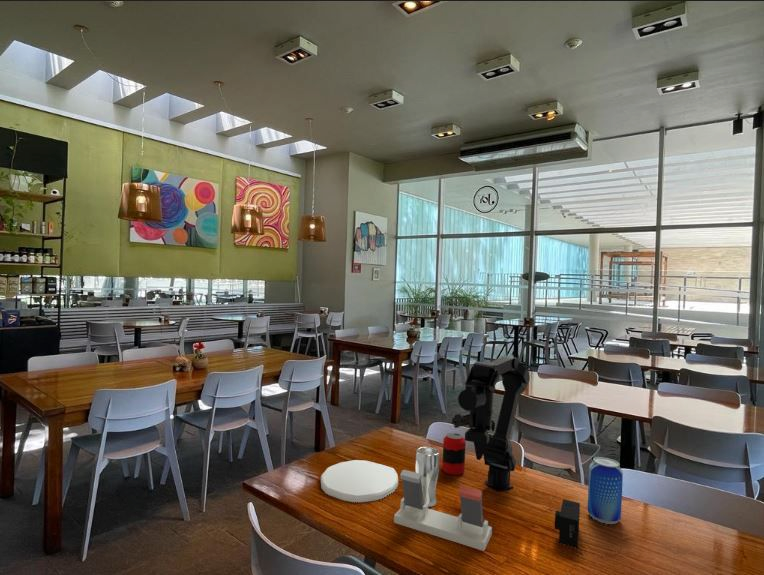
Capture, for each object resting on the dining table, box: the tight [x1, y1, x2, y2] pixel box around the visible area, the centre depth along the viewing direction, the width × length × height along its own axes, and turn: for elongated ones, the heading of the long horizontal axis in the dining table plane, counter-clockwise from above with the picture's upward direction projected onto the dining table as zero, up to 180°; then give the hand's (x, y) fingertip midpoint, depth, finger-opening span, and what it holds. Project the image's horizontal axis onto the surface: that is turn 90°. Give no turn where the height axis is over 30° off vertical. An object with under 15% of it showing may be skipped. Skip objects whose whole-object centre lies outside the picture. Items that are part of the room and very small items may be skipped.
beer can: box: [587, 456, 624, 525], centre depth 121 cm, size 8×8×16 cm
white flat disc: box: [320, 459, 399, 504], centre depth 137 cm, size 25×4×25 cm
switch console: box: [393, 496, 493, 552], centre depth 113 cm, size 8×24×5 cm, turn 63°
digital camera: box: [554, 499, 581, 549], centre depth 112 cm, size 10×5×7 cm, turn 154°
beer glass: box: [414, 446, 440, 508], centre depth 126 cm, size 7×7×15 cm
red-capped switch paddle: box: [458, 485, 484, 527], centre depth 107 cm, size 2×5×11 cm, turn 63°
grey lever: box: [400, 469, 424, 510], centre depth 115 cm, size 2×5×11 cm, turn 63°
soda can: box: [441, 432, 467, 476], centre depth 149 cm, size 8×8×12 cm
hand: (478, 459), depth 127 cm, fingers closed
